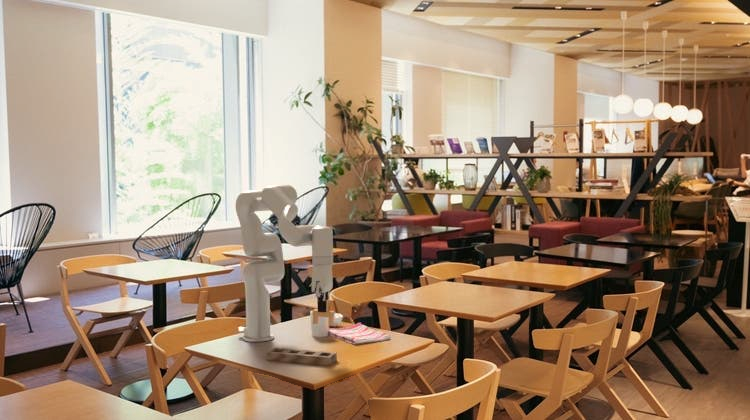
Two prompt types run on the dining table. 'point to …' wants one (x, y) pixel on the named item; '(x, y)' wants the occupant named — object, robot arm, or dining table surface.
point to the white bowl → (337, 319)
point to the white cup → (319, 326)
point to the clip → (324, 314)
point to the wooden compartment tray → (302, 356)
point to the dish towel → (358, 334)
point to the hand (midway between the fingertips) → (323, 310)
